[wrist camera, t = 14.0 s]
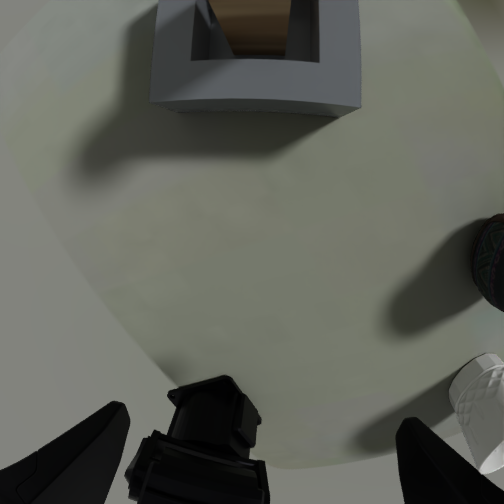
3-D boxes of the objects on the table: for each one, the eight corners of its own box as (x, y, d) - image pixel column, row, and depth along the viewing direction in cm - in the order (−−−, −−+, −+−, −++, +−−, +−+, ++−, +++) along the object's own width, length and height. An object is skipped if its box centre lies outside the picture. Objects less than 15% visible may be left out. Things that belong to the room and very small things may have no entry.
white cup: (500, 382, 23) (539, 440, 14) (444, 416, 25) (475, 484, 15) (503, 333, 21) (558, 395, 12) (440, 373, 23) (483, 451, 13)
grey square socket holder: (339, 117, 17) (361, 107, 12) (178, 112, 17) (149, 102, 13) (337, -15, 14) (352, -50, 9) (188, -17, 14) (168, -51, 10)
